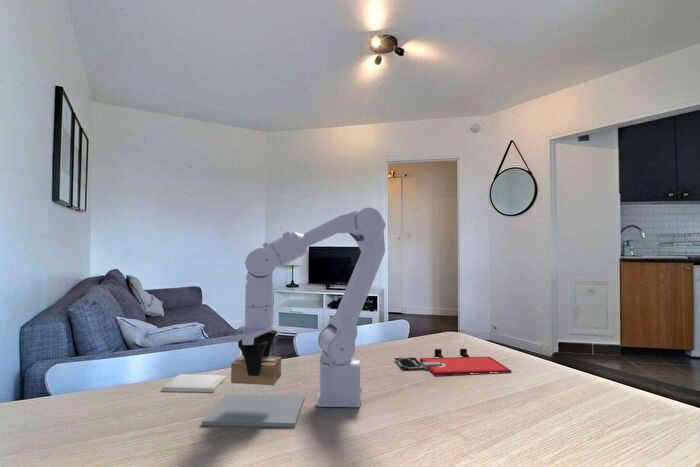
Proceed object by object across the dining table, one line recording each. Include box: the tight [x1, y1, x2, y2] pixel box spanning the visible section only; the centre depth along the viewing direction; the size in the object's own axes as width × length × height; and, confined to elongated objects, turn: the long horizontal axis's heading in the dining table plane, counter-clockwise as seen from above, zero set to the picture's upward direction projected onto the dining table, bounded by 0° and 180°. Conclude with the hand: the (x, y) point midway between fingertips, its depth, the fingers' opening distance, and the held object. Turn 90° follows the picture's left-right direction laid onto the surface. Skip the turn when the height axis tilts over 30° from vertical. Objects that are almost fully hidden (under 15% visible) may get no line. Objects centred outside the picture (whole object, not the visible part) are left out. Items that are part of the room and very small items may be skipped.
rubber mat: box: [201, 393, 306, 428], centre depth 71 cm, size 18×12×1 cm, turn 89°
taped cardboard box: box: [230, 354, 282, 386], centre depth 72 cm, size 5×9×4 cm, turn 85°
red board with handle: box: [393, 348, 512, 376], centre depth 100 cm, size 30×3×15 cm
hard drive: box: [162, 373, 228, 393], centre depth 84 cm, size 2×8×12 cm
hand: (258, 370), depth 71 cm, fingers closed on taped cardboard box, 5 cm apart
